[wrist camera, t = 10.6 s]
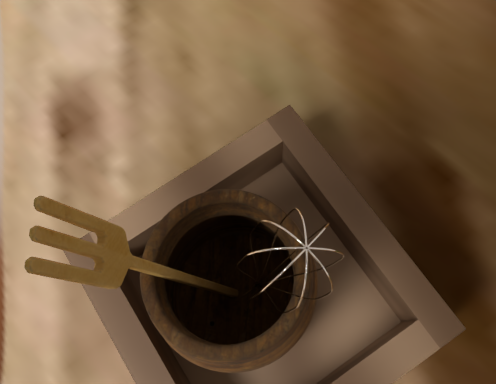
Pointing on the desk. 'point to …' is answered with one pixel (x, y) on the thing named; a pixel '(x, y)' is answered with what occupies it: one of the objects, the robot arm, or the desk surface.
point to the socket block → (341, 273)
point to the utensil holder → (205, 274)
